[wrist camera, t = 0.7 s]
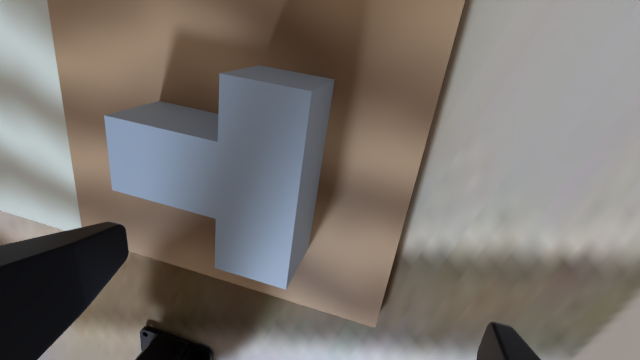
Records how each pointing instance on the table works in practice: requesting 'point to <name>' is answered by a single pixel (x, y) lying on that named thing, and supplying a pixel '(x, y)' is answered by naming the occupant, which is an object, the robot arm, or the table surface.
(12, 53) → the board
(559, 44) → the table surface
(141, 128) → the t block
